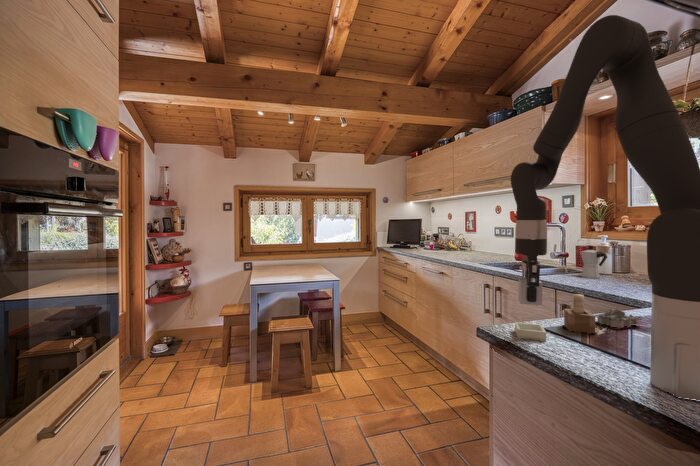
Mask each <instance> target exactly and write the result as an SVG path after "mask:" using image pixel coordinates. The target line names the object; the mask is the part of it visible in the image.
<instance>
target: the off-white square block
mask: <svg viewBox="0 0 700 466" xmlns="http://www.w3.org/2000/svg"><path fill="white" fill-rule="evenodd" d="M530 282H535V280H534V279H531V280H530ZM517 291H518V295H517V296H518V302H519V303H520V304H521V305H531V306H543V282H542V281H541V280H540V279H539V287H538V288H537V299H536V302H528V301H527V286H526V279H522V278H518V289H517Z"/></svg>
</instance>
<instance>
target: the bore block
mask: <svg viewBox="0 0 700 466" xmlns="http://www.w3.org/2000/svg"><path fill="white" fill-rule="evenodd" d="M563 310H564V311H563V326H564V327H565V328H566V329H567V330H568V331H569V332H571V331H574V333H581V332H588V333H587V334H591V333H595V334H596V314H593V313H592V312H591V311H590V310H586V309H584V314H577V313H573V308H572V309H571V308H564V309H563Z"/></svg>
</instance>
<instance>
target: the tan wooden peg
mask: <svg viewBox="0 0 700 466" xmlns="http://www.w3.org/2000/svg"><path fill="white" fill-rule="evenodd" d="M584 306H585V295H584V294H582V293H581V294H579V293H573V308H572V309H573V313H577V314H584V310H585V309H584V308H585V307H584Z"/></svg>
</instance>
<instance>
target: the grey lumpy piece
mask: <svg viewBox="0 0 700 466" xmlns="http://www.w3.org/2000/svg"><path fill="white" fill-rule="evenodd" d="M595 317H596V318H597V322H596V323H598V322H599V323H601V324H610V325H611V326H613V327H624V325H628V326H631V324H639V321H640V320H639V319H641V318H642V316H638V315H635V316H634V315H633V314H629V315H626V312H625V311H623V310H620V309H618V307H615V308H614V307H613V308H610V309H609V310H608V311H605V312H603V313H599V314H595ZM599 323H598V324H599ZM601 324H600V325H601ZM611 326H610V327H611ZM631 327H632V326H631ZM624 328H625V327H624Z"/></svg>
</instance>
